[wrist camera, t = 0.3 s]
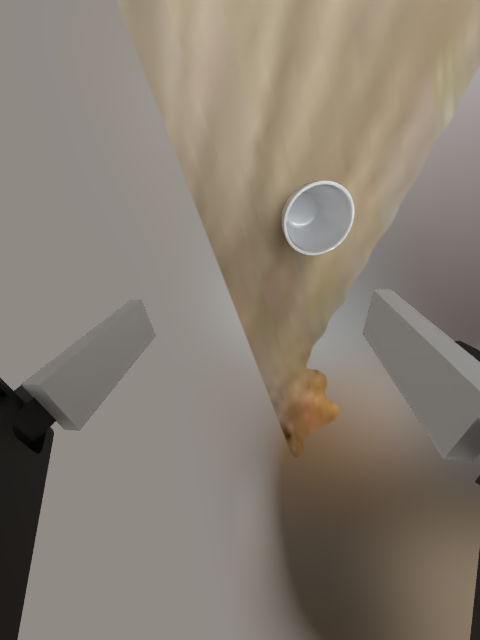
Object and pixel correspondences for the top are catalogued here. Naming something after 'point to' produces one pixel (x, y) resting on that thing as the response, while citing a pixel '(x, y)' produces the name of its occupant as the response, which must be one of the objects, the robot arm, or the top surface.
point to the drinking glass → (317, 217)
